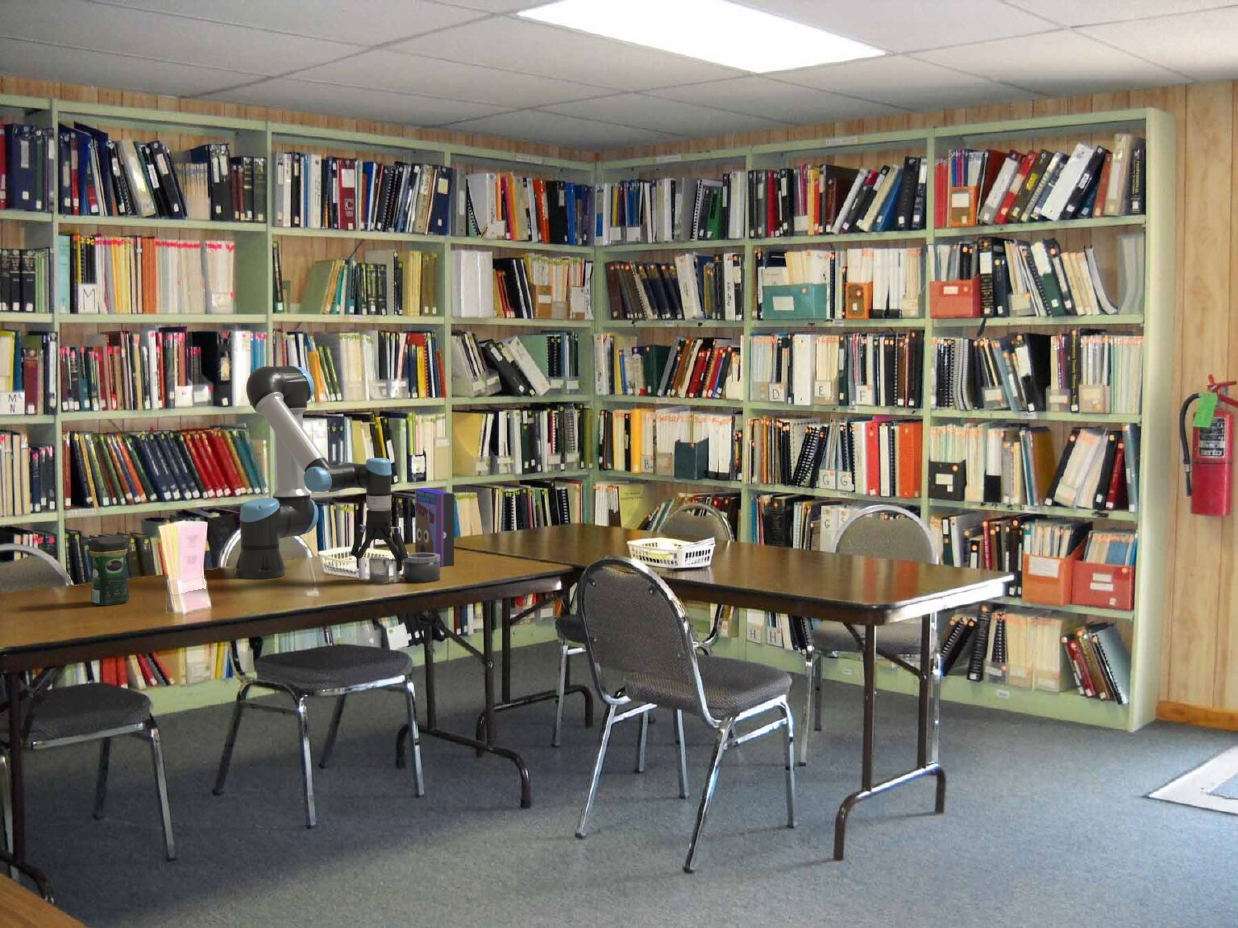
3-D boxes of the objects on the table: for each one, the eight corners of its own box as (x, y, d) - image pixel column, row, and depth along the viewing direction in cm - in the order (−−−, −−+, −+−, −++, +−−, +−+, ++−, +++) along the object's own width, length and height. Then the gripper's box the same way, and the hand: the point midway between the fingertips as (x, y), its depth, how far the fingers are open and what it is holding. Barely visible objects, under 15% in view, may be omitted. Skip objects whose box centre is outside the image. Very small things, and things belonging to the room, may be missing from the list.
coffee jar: (120, 598, 376) (119, 533, 374) (133, 602, 370) (131, 536, 368) (86, 602, 369) (84, 536, 367) (98, 607, 363) (96, 539, 362)
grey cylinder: (365, 582, 406) (365, 559, 405) (374, 578, 412) (374, 556, 411) (383, 583, 404) (383, 560, 403) (392, 580, 410) (392, 557, 409)
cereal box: (415, 559, 448) (415, 488, 446) (427, 558, 451) (427, 487, 449) (441, 567, 434) (441, 493, 432) (454, 565, 437) (454, 492, 435)
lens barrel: (397, 581, 408) (397, 557, 407) (413, 575, 418) (413, 551, 417) (430, 583, 404) (430, 559, 404) (445, 577, 415) (445, 553, 414)
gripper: (338, 508, 406) (339, 579, 408) (408, 512, 399) (408, 584, 401) (350, 505, 413) (351, 575, 415) (419, 509, 406) (419, 580, 408)
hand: (379, 580), depth 408 cm, fingers open, 11 cm apart
